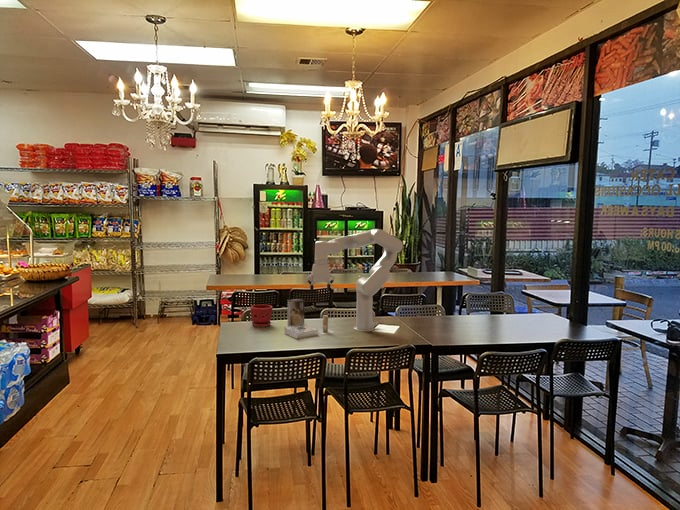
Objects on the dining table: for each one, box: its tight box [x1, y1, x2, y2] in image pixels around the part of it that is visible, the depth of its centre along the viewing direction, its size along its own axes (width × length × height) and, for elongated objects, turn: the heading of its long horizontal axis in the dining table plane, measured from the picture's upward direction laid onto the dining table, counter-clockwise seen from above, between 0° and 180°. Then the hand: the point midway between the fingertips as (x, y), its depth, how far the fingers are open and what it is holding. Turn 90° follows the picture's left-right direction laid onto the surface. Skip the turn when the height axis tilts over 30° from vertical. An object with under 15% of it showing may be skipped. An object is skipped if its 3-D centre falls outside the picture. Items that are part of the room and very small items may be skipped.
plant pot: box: [250, 304, 273, 328], centre depth 286 cm, size 13×13×12 cm
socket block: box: [283, 323, 319, 340], centre depth 268 cm, size 14×14×4 cm
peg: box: [322, 314, 329, 333], centre depth 273 cm, size 3×3×10 cm
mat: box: [318, 328, 336, 336], centre depth 274 cm, size 10×10×1 cm
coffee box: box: [287, 298, 305, 327], centre depth 286 cm, size 9×6×16 cm
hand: (320, 291), depth 273 cm, fingers open, 9 cm apart
